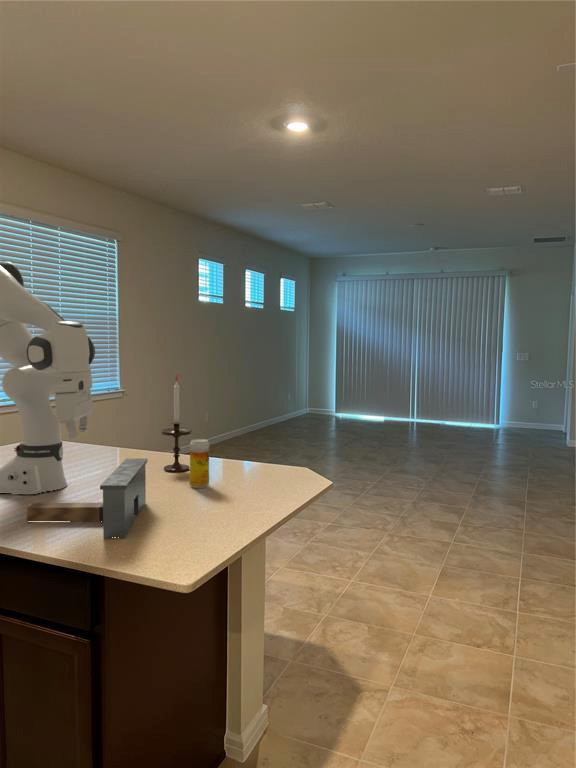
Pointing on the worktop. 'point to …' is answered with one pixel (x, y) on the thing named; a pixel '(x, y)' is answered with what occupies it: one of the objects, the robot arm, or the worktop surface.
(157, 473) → the worktop surface
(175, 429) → the candlestick
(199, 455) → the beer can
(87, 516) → the rod
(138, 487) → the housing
